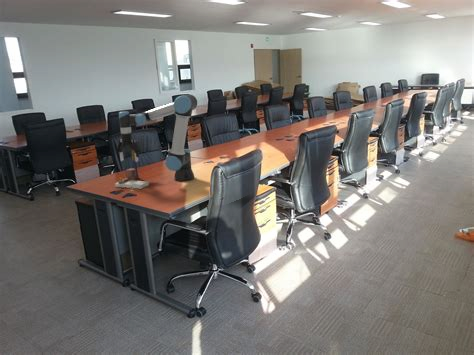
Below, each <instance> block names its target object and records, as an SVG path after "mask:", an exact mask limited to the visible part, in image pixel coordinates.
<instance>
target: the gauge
mask: <svg viewBox="0 0 474 355" xmlns="http://www.w3.org/2000/svg"><path fill="white" fill-rule="evenodd" d="M124 173H125V178H123V177H120V178H119V179H120V180H118V181H117V182H118V183H119V184H122V183H124V182H126V181H129V180H133V181H138V178H137V176H136V169H133V167H132V168H131V167H130V168H127V169H126V170H125V172H124Z"/></svg>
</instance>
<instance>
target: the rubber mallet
mask: <svg viewBox="0 0 474 355" xmlns="http://www.w3.org/2000/svg"><path fill="white" fill-rule="evenodd" d="M135 140H136V143H137V145H138V147H139V149H140V148H141V146H142V145H141V144H142V143H141V141H140V140H138V139H135ZM132 143H133V142H132ZM133 145H134V144H133ZM124 150H125V151H126V152H130V151H131V159H132V161H131V164H132V165H131V166H132V169H136V176H137V179H138V178H139V176H140V175H139V172H138V162H136V161H135V151H134V150H133V149H132V148H131V147H130V146H127V145H126V146H125V147H124Z"/></svg>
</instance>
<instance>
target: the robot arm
mask: <svg viewBox="0 0 474 355" xmlns="http://www.w3.org/2000/svg"><path fill="white" fill-rule="evenodd" d="M197 106H198V100H197V97H196V96H194V95H193V94H189V93H188V94H183V95H180V96H177V97H175V100H173V102H171V103H168V104H166V105H165V104H164V105H162V106H159V107H156V108H153V109H150V110H148V111H144V112H143V111H142V112H141V113H140V112H139V113H135V114H134V113H133V114H130V112H129V111H119V112H118V120H119V128H120V136H121V138H120V139H119V138H118V143H117V147H116V152H118V155H119V156H118V157H120V162H123V161H124V160H125V159H124V158H125V157H124V154H123V153H124V152H123V150H125V148H124V147H125V146H126V145H127V146H130V147H131V148H132V149H133V150H134V151H135V161H136V162H137V163H138V162H139V161H140V160H139V157H140V155H139V153H140V152H141V149H140V148H139V147H138V145H137V143H136V140H137V139H133V134H132V127H131V126H134V125H135V126H137V125H139V126H142V125H145V124H146V123H149V122H152V121H154V120H157V119H161V118H164V117H166V116H171V115H173V114H174V115H175V123H174V131H173V136H172V143H171V144H172V145H171V149H169V150H168V155H167V156H166V158H165V161H164V163H165V167H166V168H167V169H168V170H169V171H172V172H175V173H174V181H175V182H189V181H192V180H194V179H195V174H194V171H193V169H192V162H191V161H192V160H191V157H192V156H191V150H190V149H189V148H185V143H186V137H187V130H188V124H189V119H190V118H191V117H192V113H193V111H195V109H197ZM132 142H133V143H132ZM133 144H134V145H133Z"/></svg>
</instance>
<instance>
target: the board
mask: <svg viewBox="0 0 474 355" xmlns="http://www.w3.org/2000/svg"><path fill="white" fill-rule="evenodd" d="M114 184H115V187H116V188H125V187H126V188H127V189H137V188H138V189H137V190H139V189H140V190H142V189H143V188H146V187H148V186H149V181H145V180H143V181H142V180H137V181H133V180H129V181H126V182H124V183H122V184H119V183H118V181H117V182H115V183H114ZM131 187H132V188H131Z"/></svg>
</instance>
